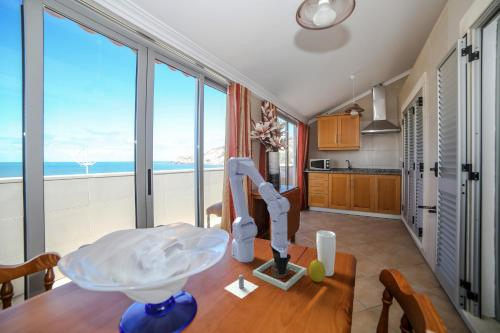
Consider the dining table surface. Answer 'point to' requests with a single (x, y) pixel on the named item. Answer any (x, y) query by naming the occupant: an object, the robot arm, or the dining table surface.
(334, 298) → the dining table surface
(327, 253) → the drinking glass
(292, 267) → the tray
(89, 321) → the dining table surface
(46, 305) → the dining table surface
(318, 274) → the lemon
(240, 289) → the white base with peg
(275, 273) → the ring
